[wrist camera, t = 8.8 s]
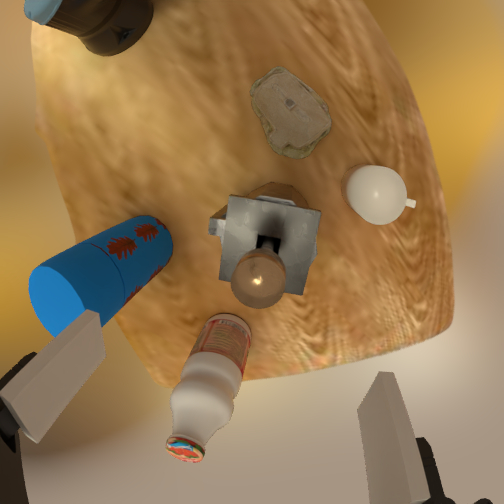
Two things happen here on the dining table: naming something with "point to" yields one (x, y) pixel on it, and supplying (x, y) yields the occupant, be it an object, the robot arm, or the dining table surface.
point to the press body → (268, 230)
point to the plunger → (260, 275)
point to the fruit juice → (208, 386)
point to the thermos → (99, 273)
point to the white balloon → (375, 193)
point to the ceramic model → (290, 113)
